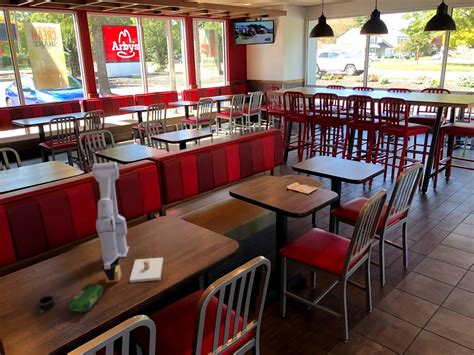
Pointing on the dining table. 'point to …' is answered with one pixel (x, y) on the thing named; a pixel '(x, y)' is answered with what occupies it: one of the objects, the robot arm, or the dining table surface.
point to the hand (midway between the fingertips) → (113, 275)
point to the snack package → (86, 298)
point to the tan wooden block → (117, 274)
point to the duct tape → (46, 303)
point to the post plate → (146, 270)
